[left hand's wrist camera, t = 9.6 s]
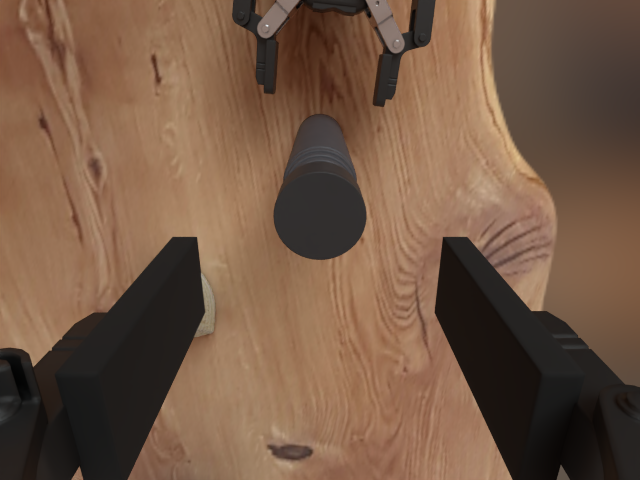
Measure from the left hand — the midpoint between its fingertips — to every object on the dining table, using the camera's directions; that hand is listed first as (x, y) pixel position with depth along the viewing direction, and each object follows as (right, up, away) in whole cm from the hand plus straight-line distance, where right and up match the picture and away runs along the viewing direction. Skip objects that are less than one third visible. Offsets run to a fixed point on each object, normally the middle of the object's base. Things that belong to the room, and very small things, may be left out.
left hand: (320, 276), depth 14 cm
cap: (0, +2, +6) cm, 6 cm away
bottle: (0, +11, +28) cm, 30 cm away
